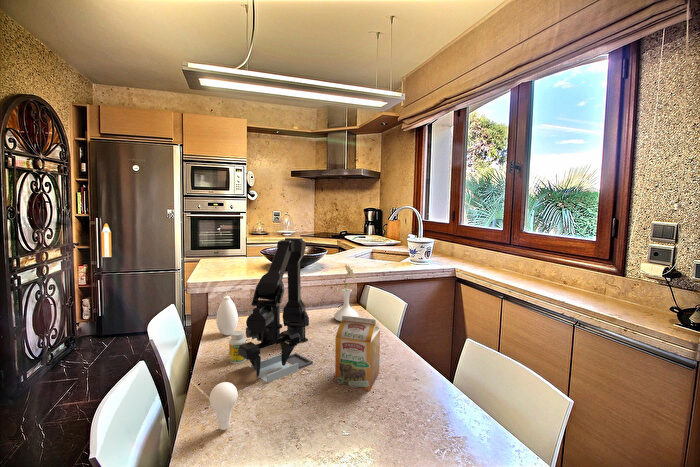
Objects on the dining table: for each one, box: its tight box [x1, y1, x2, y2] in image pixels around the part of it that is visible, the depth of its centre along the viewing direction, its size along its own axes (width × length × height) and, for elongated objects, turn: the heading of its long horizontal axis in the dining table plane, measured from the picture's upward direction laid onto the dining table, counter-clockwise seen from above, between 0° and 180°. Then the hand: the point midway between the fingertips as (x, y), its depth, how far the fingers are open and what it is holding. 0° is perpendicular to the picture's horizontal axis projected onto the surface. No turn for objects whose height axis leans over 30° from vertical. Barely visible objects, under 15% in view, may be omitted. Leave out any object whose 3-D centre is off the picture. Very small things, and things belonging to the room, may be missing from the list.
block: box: [225, 365, 258, 391], centre depth 98 cm, size 7×4×4 cm, turn 136°
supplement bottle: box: [228, 330, 247, 365], centre depth 113 cm, size 5×5×10 cm
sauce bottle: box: [216, 290, 239, 336], centre depth 135 cm, size 8×8×18 cm
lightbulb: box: [208, 381, 239, 431], centre depth 79 cm, size 6×6×11 cm
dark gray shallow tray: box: [286, 352, 314, 370], centre depth 113 cm, size 5×9×1 cm, turn 46°
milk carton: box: [334, 315, 381, 392], centre depth 102 cm, size 11×11×19 cm
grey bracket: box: [250, 353, 299, 384], centre depth 106 cm, size 11×10×2 cm
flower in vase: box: [333, 264, 360, 322], centre depth 154 cm, size 13×11×25 cm
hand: (270, 370), depth 105 cm, fingers open, 9 cm apart
